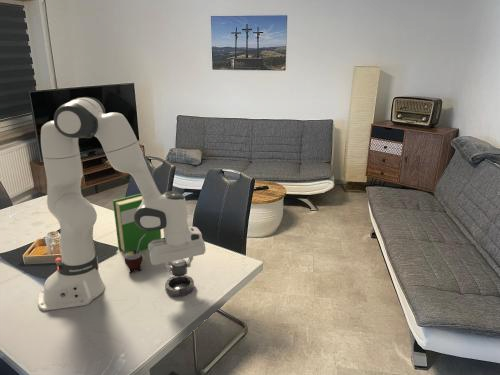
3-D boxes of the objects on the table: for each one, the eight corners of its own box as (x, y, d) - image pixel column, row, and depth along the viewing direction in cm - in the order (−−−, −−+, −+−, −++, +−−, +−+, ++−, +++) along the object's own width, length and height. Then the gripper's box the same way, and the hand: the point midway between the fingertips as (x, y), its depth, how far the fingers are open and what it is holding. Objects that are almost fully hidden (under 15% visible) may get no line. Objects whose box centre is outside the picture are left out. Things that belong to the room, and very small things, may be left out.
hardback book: (125, 255, 167) (119, 205, 159) (118, 249, 172) (112, 200, 164) (161, 243, 178) (157, 195, 170) (154, 237, 183) (149, 191, 175)
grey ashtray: (169, 299, 137) (169, 293, 137) (163, 284, 146) (162, 278, 145) (197, 292, 142) (196, 286, 141) (189, 278, 150) (189, 272, 150)
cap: (174, 277, 138) (173, 267, 137) (170, 270, 143) (169, 259, 141) (188, 274, 140) (188, 263, 139) (184, 266, 145) (184, 256, 143)
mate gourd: (122, 271, 155) (118, 239, 150) (134, 262, 162) (131, 230, 156) (137, 275, 152) (133, 242, 147) (149, 266, 159) (146, 233, 154)
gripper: (149, 245, 129) (152, 279, 134) (206, 233, 137) (207, 266, 142) (145, 237, 135) (149, 270, 140) (200, 226, 143) (202, 258, 148)
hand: (179, 268), depth 141 cm, fingers closed on cap, 5 cm apart
